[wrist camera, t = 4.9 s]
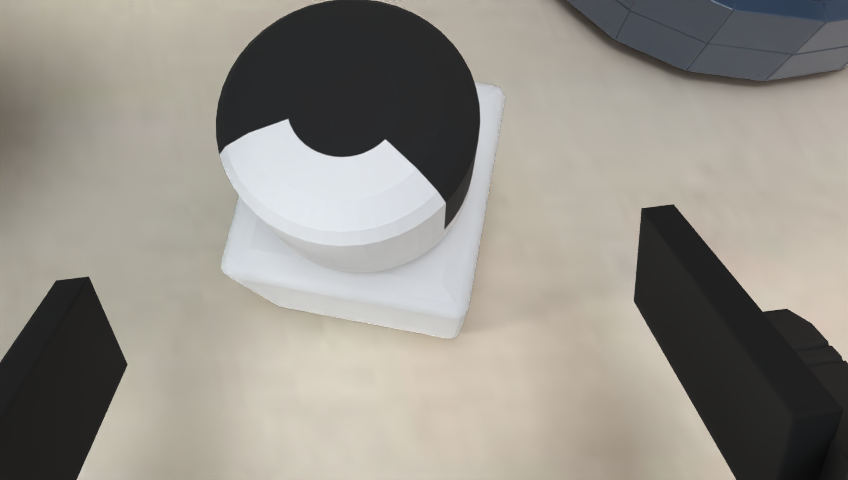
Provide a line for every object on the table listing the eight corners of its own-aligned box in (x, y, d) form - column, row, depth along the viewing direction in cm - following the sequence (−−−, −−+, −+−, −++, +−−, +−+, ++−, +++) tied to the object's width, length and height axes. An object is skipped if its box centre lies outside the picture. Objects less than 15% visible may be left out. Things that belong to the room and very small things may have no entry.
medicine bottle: (315, 134, 27) (226, -64, 16) (489, 164, 27) (531, -16, 15) (273, 306, 26) (139, 230, 14) (458, 341, 25) (478, 293, 14)
